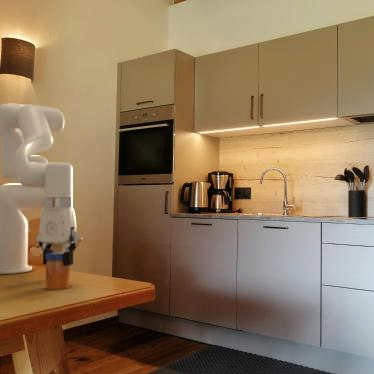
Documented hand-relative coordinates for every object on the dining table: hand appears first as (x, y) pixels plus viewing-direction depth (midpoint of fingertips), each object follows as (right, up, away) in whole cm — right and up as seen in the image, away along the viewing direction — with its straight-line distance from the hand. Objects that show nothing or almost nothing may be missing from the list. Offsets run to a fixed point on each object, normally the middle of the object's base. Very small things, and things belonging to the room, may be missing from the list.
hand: (58, 264), depth 124 cm
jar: (0, -7, 0) cm, 7 cm away
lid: (0, +3, 0) cm, 3 cm away
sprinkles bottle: (-7, -7, +14) cm, 17 cm away
